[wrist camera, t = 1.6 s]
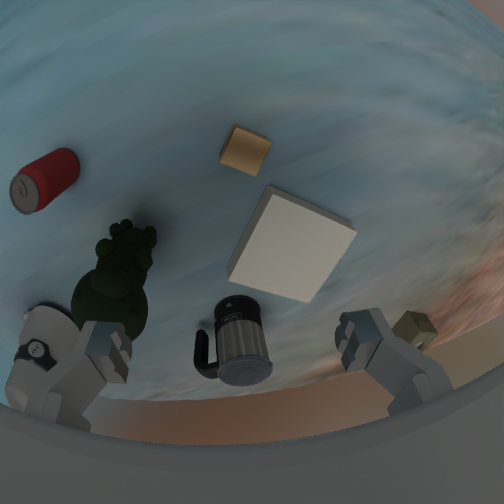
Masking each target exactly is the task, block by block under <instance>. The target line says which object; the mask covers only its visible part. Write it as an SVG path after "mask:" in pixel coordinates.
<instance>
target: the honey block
mask: <svg viewBox="0 0 504 504" xmlns="http://www.w3.org/2000/svg"><path fill="white" fill-rule="evenodd" d="M271 145H272V142H271V141H270V140H269V139H267V138H266V137H264V136H262V135H260V134H257V133H255V132H253V131H251V130H248V129H246V128H244V127H241V126H239V125H236V124H233V127H232V129H231V131H230V133H229V135H228V137H227V139H226V142H225V144H224V146H223V148H222V150H221V153H220V163H223V164H225V165H228V166H230V167H233V168H235V169H238V170H240V171H243V172H245V173H248V174H250V175H253V176H255V177H256V175H257V173H258V171H259V169H260V167H261V165H262V163H263V161H264V159H265V157H266V155H267V153H268V151H269V149H270V147H271Z"/></svg>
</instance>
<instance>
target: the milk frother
mask: <svg viewBox="0 0 504 504" xmlns="http://www.w3.org/2000/svg"><path fill="white" fill-rule="evenodd" d="M214 316H215V319H216V322H215V338H216V354H217V362H214V363H210V364H208V346H209V337H208V335H207V334H206V332H205V331H204V330H202V329H200V330H198V331H197V333H196V340H195V350H194V366H195V368H196V369H197V370H198V372H199V373H200V374H202V375H203V376H204V377H206V378H210V379H214V378H219V379H220V380H221V381H222V382H224V383H226V384H228V385H232V386H250V385H254V384H257V383H260V382H262V381H264V380H265V379H267V378H268V377H269V376H270V375H271V373H272V371H273V363H272V362H270V361H269V356H268V352H267V347H266V343H265V338H264V334H263V329H262V324H261V319H260V307H259V305H258V303H257V302H256V301H255V300H253V299H252V298H249V297H246V296H232V297H228V298H226V299H224V300H222V301H221V302H220V303H219V304H218V305H217V306H216V308H215V311H214Z"/></svg>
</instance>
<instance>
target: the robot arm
mask: <svg viewBox="0 0 504 504" xmlns="http://www.w3.org/2000/svg"><path fill="white" fill-rule="evenodd" d="M23 317H24V320H25V323H24V325H23V328H22V330H21V333H20V335H19V338H18V342H19V345H20V347H19V348H18V351H17V352H16V354H15V358H14V365H13V367H12V370H11V372H10V375H9V377H8V380H7V383H6V385H5V394H6V398H7V401H8V403H9V404H10V406H11V407H9V406H6V405H4V404H2V403H0V504H504V363H501V364H500V365H498V366H497V367H495V368H493V369H492V370H490V371H488V372H487V373H485V374H483V375H482V376H480V377H478V378H476V379H474V380H472V381H471V382H469V383H467V384H465V385H463V386H461V387H459V388H457V389H455V390H454V388H453V386H452V384H451V382H450V380H449V378H448V376H447V374H446V373H445V371H444V369H443V367H442V365H441V364H439V363H438V362H436V361H435V360H433V359H432V358H430V357H429V356H427V355H426V354H424V353H422V352H421V351H419V350H418V349H416V348H415V347H413V346H412V345H410V344H409V343H407V342H406V341H404V340H403V339H401V338H400V337H395V335H394V333H393V332H392V330H391V328H390V326H389V324H388V323H387V321H386V319H385V317H384V316H383V314H382V312H381V310H380V309H379V308H372V309H366V310H365V309H364V310H357V311H350V312H343V313H342V314H341V316H340V319H339V320H340V323H341V324H340V325H339V326H338V327H337V328H336V331H335V344H336V347H337V350H338V351H339V352H341V353H342V354H343V355H342V358H341V361H342V364H343V366H344V369H345V372H346V373H347V372H353V371H359V370H364V369H365V371H366V372H367V373H369V374H370V375H371V376H372V377H373V378H374V379H375V380H376V381H377V382H378V383H380V384H381V385H382V386H383V387H384V388H385V389H386V390H387V391H388V392H389V393H391V394H392V395H393V396H394V397H395V399H394V400H393V401H392V402H391V403H390V405H389V406H388V408H387V410H388V413H389V417H386V418H382V419H379V420H376V421H372V422H369V423H365V424H362V425H359V426H355V427H350V428H347V429H342V430H338V431H334V432H329V433H324V434H319V435H314V436H308V437H302V438H297V439H289V440H282V441H274V442H264V443H253V444H236V445H181V444H165V443H154V442H144V441H136V440H129V439H122V438H116V437H110V436H105V435H100V434H95V433H91V432H90V429H91V424H90V422H89V421H88V420H87V419H86V418H85V417H84V416H82V413H83V412H84V411H85V410H86V408H87V407H88V406H89V405H90V403H91V402H92V401H93V400H94V398H95V397H96V396H97V395H98V394H99V392H100V391H101V390H102V389H103V387H104V386H105V385H106V384H107V383H106V382H110V383H122V384H126V381H127V376H128V371H129V369H128V367H127V365H126V364H127V363H128V362H129V361H130V360H131V357H132V344H131V340H130V338H129V337H128V336H127V335H126V334H124V333H125V327H124V325H123V323H116V322H102V321H86V322H85V323H84V325H83V328H82V330H81V332H80V331H79V329H78V328H77V326H76V325H75V324H74V322H73V321H72V320H71V319H69V318H68V317H67V316H66V315H64V314H63V313H61V312H60V311H58V310H56V309H54V308H51V307H48V306H37V307H35V308H34V309H33V310H32V311H29V312H25V313H24V316H23Z"/></svg>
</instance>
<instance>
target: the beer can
mask: <svg viewBox="0 0 504 504" xmlns="http://www.w3.org/2000/svg"><path fill="white" fill-rule="evenodd" d="M78 172H79V164H78V161H77V158H76V157H75V155H74V154H73V153H72V152H71V151H69V150H67V149H64V148H62V149H57V150H55V151H53V152H51V153H49V154H47V155H45V156H43V157H41V158H39V159H37V160H35V161H33V162H32V163H30V164H28V165H26V166H25V167H23V168H22V169H21V170H20V171H19V172H18V173H17V175H16V176H15V177H14V178H13V179H12V181H11V184H10V188H9V194H10V199H11V202H12V204H13V206H14V207H15V208H16V210H17V211H19V212H20V213H22V214H24V215H30V214H32V213H34V212H37V211H39V210H41V209H43V208H45V207H46V206H47V205H48V204H49V203H50V202H51V201H53V200H54V199H55V198H56V197H57V196H59V195H60V194H61V193H62V192H63V191H65V190H66V189H67V188H68V187H70V186H71V185H72V184H73V183H74V182H75V181H76V179H77V177H78Z"/></svg>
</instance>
